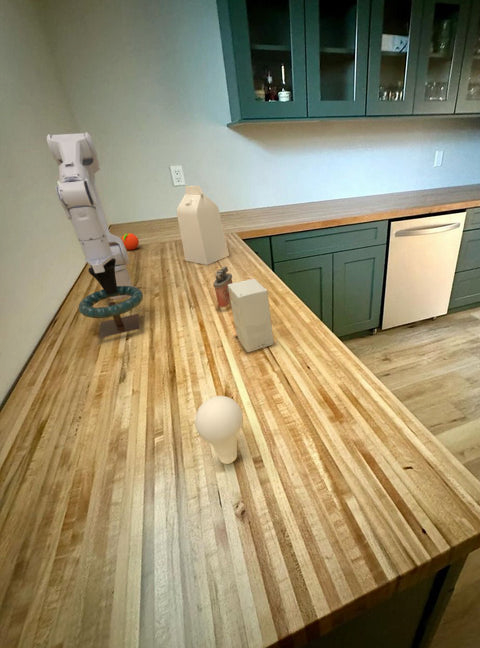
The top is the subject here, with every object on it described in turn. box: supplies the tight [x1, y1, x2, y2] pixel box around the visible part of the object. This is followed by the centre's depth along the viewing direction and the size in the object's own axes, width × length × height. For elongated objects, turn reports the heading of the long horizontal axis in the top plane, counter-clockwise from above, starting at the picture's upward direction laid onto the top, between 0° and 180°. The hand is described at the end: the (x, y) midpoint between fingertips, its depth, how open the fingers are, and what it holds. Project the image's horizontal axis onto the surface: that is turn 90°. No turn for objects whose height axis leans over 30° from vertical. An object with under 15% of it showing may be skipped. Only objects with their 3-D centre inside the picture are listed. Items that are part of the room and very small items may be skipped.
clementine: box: [120, 232, 140, 251], centre depth 145 cm, size 8×7×7 cm
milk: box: [176, 185, 230, 266], centre depth 123 cm, size 12×12×26 cm
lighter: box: [212, 265, 233, 308], centre depth 90 cm, size 8×3×10 cm, turn 168°
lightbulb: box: [194, 395, 244, 465], centre depth 45 cm, size 6×6×11 cm
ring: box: [78, 285, 144, 319], centre depth 80 cm, size 14×14×2 cm
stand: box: [98, 301, 140, 339], centre depth 82 cm, size 9×9×7 cm
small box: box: [228, 278, 275, 353], centre depth 72 cm, size 8×6×13 cm
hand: (112, 291), depth 84 cm, fingers closed on ring, 2 cm apart
